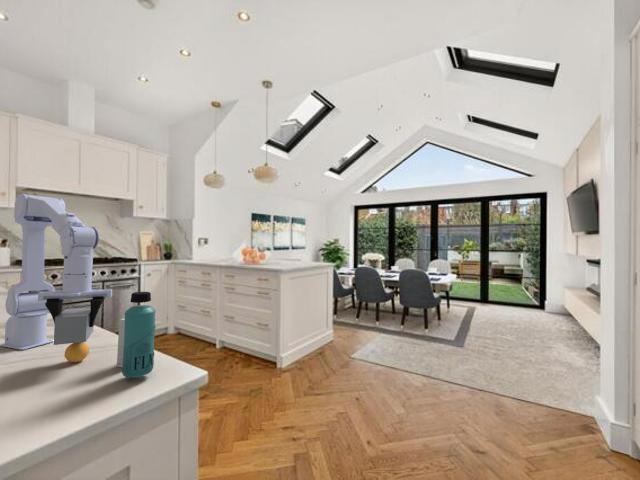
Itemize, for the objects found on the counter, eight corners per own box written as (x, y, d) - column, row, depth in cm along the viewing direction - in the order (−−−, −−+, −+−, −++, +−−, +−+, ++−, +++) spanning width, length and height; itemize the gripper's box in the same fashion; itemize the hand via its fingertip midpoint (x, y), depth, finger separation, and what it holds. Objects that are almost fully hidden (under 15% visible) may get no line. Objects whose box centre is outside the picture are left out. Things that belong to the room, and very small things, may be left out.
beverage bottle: (129, 387, 65) (134, 295, 66) (115, 379, 69) (119, 292, 69) (159, 376, 71) (163, 292, 71) (144, 369, 74) (147, 289, 75)
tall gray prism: (65, 333, 79) (66, 309, 79) (93, 330, 82) (94, 307, 82) (53, 345, 70) (55, 317, 70) (85, 341, 73) (87, 315, 73)
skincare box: (130, 369, 74) (132, 320, 75) (116, 367, 75) (118, 319, 75) (149, 360, 80) (151, 315, 81) (135, 358, 81) (137, 314, 81)
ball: (60, 343, 77) (58, 364, 75) (76, 340, 76) (74, 361, 74) (79, 342, 81) (77, 362, 80) (94, 340, 81) (93, 359, 79)
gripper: (34, 276, 69) (31, 335, 69) (110, 274, 76) (108, 328, 76) (44, 273, 75) (41, 327, 75) (113, 272, 82) (111, 321, 82)
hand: (75, 327), depth 76 cm, fingers closed on tall gray prism, 6 cm apart
